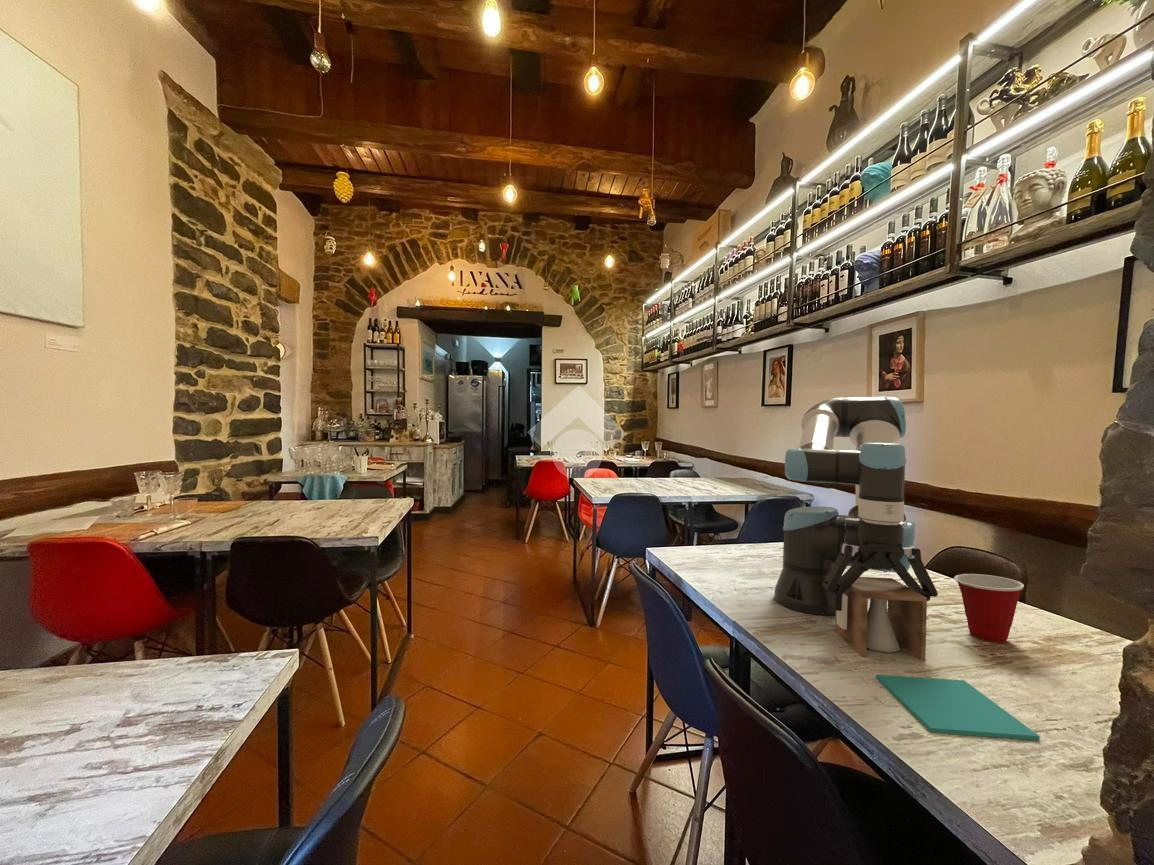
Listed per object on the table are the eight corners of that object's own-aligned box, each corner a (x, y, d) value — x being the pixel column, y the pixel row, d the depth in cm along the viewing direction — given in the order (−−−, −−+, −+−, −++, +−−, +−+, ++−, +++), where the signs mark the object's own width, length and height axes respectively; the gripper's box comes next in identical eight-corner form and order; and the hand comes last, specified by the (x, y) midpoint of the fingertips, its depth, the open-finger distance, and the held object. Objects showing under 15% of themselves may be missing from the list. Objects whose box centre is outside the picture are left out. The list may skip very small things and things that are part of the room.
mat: (875, 678, 78) (875, 674, 78) (964, 683, 77) (964, 680, 77) (930, 732, 65) (930, 727, 65) (1039, 740, 63) (1039, 736, 63)
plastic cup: (952, 621, 103) (954, 567, 103) (1019, 635, 96) (1021, 578, 96) (952, 637, 94) (954, 579, 94) (1025, 654, 88) (1027, 592, 87)
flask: (908, 654, 87) (910, 602, 87) (869, 653, 87) (871, 601, 87) (884, 637, 94) (885, 588, 94) (848, 636, 94) (849, 587, 94)
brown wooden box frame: (835, 631, 97) (836, 575, 97) (890, 634, 96) (892, 578, 96) (862, 657, 86) (863, 594, 86) (925, 660, 85) (926, 597, 85)
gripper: (822, 522, 88) (819, 632, 88) (962, 527, 85) (959, 641, 86) (806, 515, 95) (804, 617, 95) (935, 519, 93) (932, 624, 93)
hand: (877, 628), depth 91 cm, fingers open, 13 cm apart
